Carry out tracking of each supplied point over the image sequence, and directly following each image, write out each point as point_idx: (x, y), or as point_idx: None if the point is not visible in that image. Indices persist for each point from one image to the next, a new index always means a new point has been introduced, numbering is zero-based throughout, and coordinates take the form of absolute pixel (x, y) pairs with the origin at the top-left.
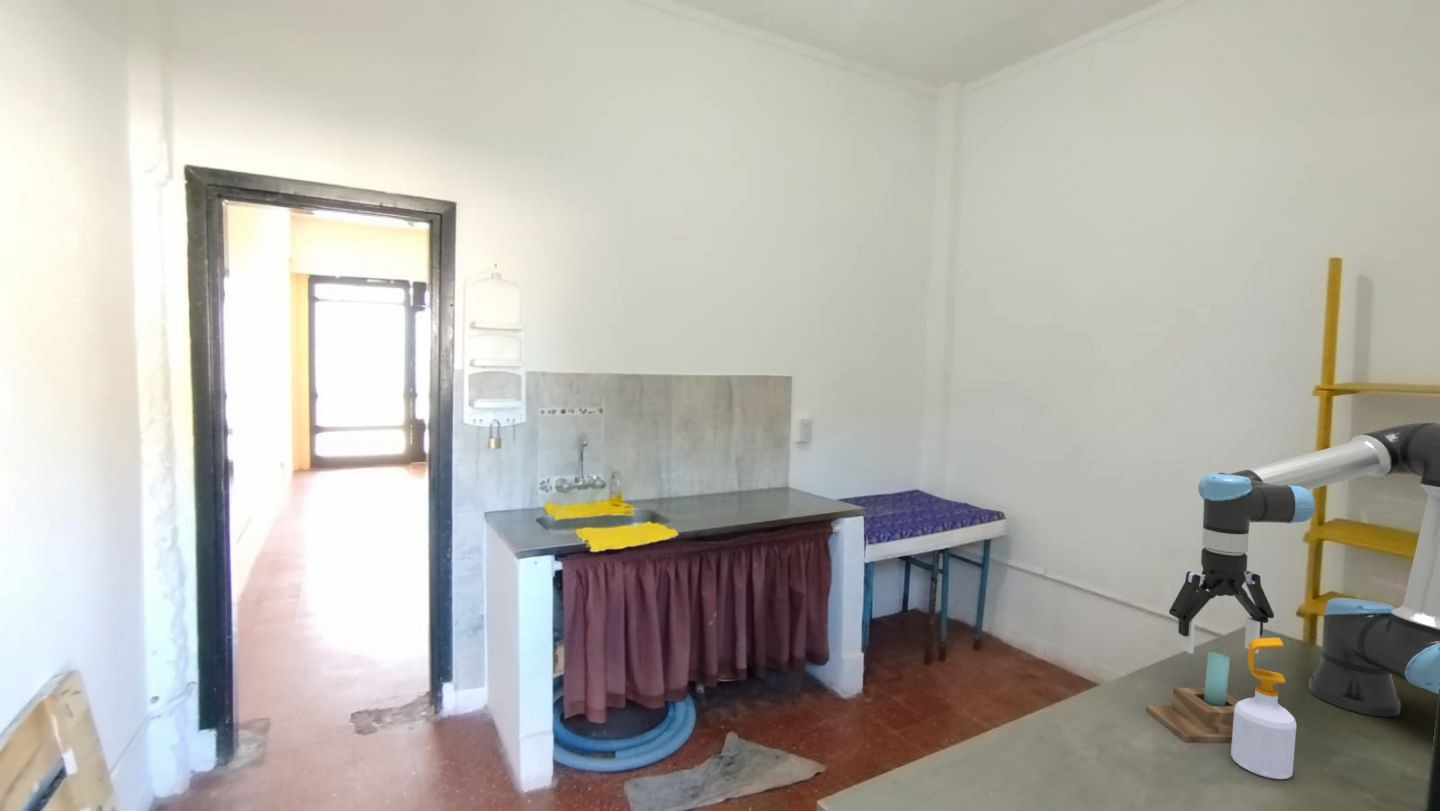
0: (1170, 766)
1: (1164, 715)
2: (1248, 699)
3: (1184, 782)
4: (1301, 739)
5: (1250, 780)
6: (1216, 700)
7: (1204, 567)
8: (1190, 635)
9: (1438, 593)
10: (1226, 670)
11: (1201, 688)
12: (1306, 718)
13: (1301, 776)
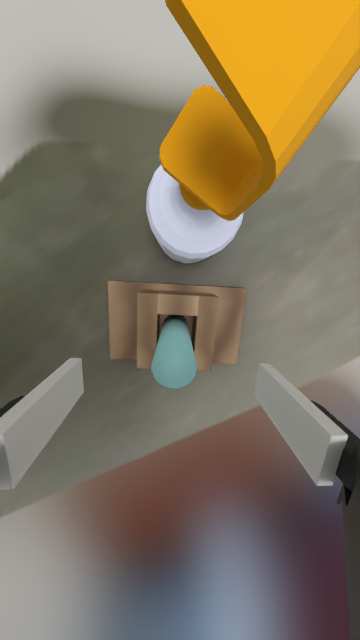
0: (310, 234)
1: (232, 339)
2: (218, 223)
3: (323, 198)
4: (75, 289)
5: None
6: (182, 323)
7: None
8: (302, 397)
9: None
10: (170, 338)
11: None
12: (23, 338)
13: None
